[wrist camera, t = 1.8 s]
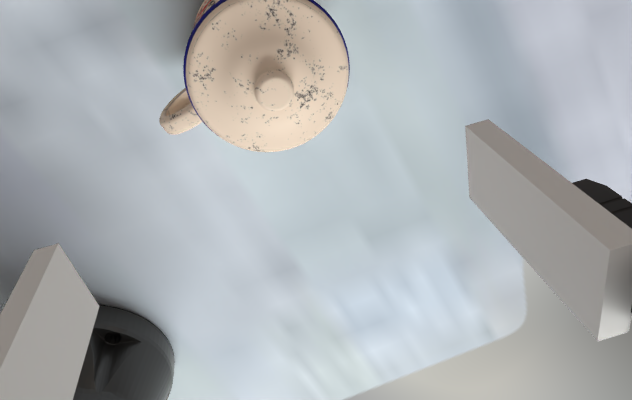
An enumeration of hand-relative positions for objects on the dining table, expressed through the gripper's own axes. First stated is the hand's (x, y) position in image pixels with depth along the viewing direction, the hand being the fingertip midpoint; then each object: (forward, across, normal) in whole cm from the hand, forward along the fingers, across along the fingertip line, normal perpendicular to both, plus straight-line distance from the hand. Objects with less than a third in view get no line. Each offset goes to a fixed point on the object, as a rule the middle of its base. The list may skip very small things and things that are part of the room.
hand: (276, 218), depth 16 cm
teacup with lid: (+22, 0, 0) cm, 22 cm away
